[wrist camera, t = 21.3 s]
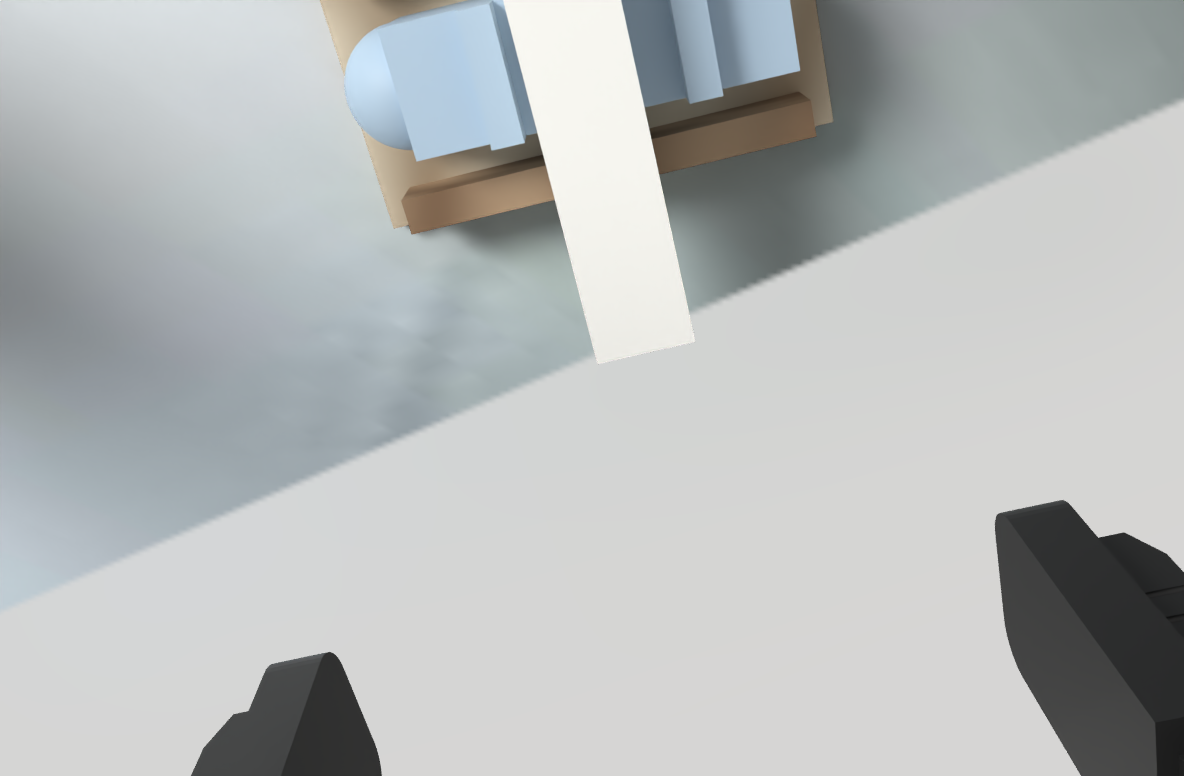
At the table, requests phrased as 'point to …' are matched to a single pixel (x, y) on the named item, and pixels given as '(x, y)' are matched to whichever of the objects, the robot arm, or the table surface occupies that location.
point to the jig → (520, 171)
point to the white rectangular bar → (602, 172)
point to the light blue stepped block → (495, 82)
